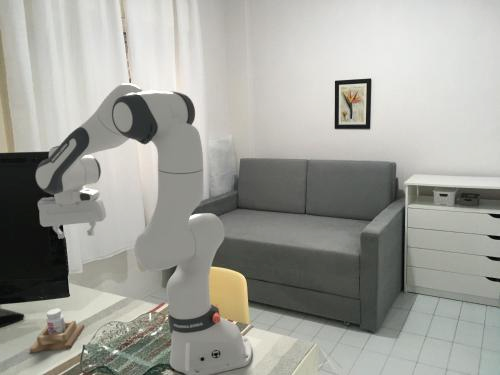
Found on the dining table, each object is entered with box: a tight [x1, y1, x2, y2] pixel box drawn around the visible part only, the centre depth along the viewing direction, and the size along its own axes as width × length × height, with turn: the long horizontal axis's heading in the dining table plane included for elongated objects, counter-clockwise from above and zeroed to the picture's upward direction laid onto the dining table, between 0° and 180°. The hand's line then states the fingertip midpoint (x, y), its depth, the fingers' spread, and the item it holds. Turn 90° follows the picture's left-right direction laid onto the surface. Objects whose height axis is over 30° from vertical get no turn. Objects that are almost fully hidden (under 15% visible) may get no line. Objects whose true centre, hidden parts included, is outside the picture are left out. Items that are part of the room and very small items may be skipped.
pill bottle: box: [46, 307, 66, 335], centre depth 129 cm, size 5×5×8 cm
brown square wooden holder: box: [29, 320, 85, 353], centre depth 130 cm, size 12×12×4 cm
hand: (76, 236), depth 137 cm, fingers open, 8 cm apart
